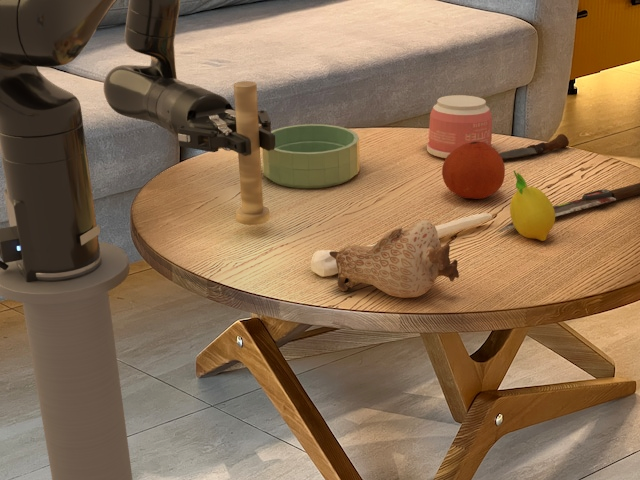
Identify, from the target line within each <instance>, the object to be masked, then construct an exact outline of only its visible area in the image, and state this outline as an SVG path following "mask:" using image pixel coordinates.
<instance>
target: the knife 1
mask: <svg viewBox="0 0 640 480" xmlns="http://www.w3.org/2000/svg"><path fill="white" fill-rule="evenodd" d="M569 144H570V141H569V139H568V137H567V136H566V135H565V134H564V133H559V134H558V135H557V136H556V137H555V138H553V139H552V140H550V141H548V142H540V143H537V144H531V145H528V146H526V147H520V148H514V149H510V150H506V151H503V152H498V153H499V154H500V156H501V157H502V160H505V159H506V160H507V159H513V158H522V157H526V156H535V155H540V154H544V153H546V152H552V151H554V150H556V149H557V150H558V149H560V148H563V149H564V148H567V147H568V146H569Z"/></svg>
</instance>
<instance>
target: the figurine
mask: <svg viewBox="0 0 640 480" xmlns="http://www.w3.org/2000/svg"><path fill="white" fill-rule="evenodd" d="M435 226H436V225H434V224H433V223H432V222H431V221H429V220H425V219H424V220H423V219H422V220H418V221H416V222H414V223H413V224H411V225H409V226H407V227H405V228H403V225H399V226H397V227H396V228H394V229H392V230H390V231H389V232H387V234H385V235H384V236H383V237H382V238H380V239H379V240H378V241H377V243H375V244H376V245H373V244H372V245H373V246H369V245H359V244H351V245H347V246H345V247H343V248H341V249H340V250H338V251H336V250H332V251H331V252H330V255H331V256H332V257H333V258H335V259H336V264H337V268H338V273H337V274H338V277H337V278H338V279H337V286H338V289H339V290H340V291H341V292H346V291H347V290H348V289H349V288H348V287H350V288H351V289H352V288H354V286H355V285H356V284H360V283H362V284H368V285H371V286H374V287H375V288H377V290H380V291H381V292H383V293H385V295H389V296H393V297H395V298H401V299H402V298H403V299H406V298H407V299H410V298H418V297H421V296H423V295H424V294H426V293H427V292H428V291H429V290H430V289H431V288H433V285H434V283H435V282H436V280H437V279H438V278H439V277H442V276H443V277H445V278H448V279H449V281H450V282H452V283H453V282H454V281H455V279H459V278H460V274H459V269H458V260H457V259H454V260H453V261H452V262H451V259H450V250H451V245H450V244H448V243H446V244H445V245H442V243H441V241H440V238H438V234H437V230H436V228H435ZM347 284H348V285H347Z"/></svg>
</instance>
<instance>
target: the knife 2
mask: <svg viewBox="0 0 640 480" xmlns="http://www.w3.org/2000/svg"><path fill="white" fill-rule="evenodd" d="M637 195H640V182H638V183H634V184H630V185H626V186H623V187H619V188H615V189H612V190H611V189H610V190H609V189H605V188H604V189H598V190H594V191H590V192H586V193H584V194H582V197H581V198H580V199H575V200H572V201H568V202H564V203H561V204H560V203H559V204H557V205H552V206H553V208H554V211H555V218H556V217H559V216H564V215H567V214H570V213H574V212H578V211H581V210H585V209H589V208H593V207H600V206H605V205H609V204H610V203H611V202H617V201H619V200H622V199H626V198H630V197H634V196H637ZM511 229H516V228H515V226H514V225H513V222H512V221H511V222H509V223H508V224H506V225H505V226H504V227H502V228H501V229H499V230H498V231H497V232H495V234H497V233H501V232H504V231H508V230H511Z"/></svg>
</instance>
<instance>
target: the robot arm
mask: <svg viewBox="0 0 640 480" xmlns="http://www.w3.org/2000/svg"><path fill="white" fill-rule="evenodd" d="M116 2H118V0H0V157H1V162H2V170H3V174H4V181H5V187H6V188H5V189H4V190H3V195H4V198H5V199H4V201H5V205H6V212H7V218H8V223H9V226H7V227H1V228H0V259H1V260H2V261H3V262H2V261H1V260H0V268H2V269H4V270H6V269H7V268H8V266H9V265H7V264H6V263H7V262H13V261H16V265H17V267H18V268H19V271H20V273H21V274H22V275H23V277H24V279H25V281H26V282H34V281H46V282H53V281H65V280H70V279H75V278H79V277H82V276H85V275H87V274H89V273H91V272H93V271H95V270H96V269H97V268H98V267H99V266H100V265H101V263H102V257H101V251H100V246H99V242H100V241H99V235H100V234H101V228H100V224H98V225H97V219H96V211H95V204H94V197H93V189H92V181H91V173H90V167H89V160H88V152H87V144H86V137H85V129H84V122H83V121H84V120H83V113H82V105H81V103H80V100H79V99H78V97H77V96H76V95H75V94H74V93H72V92H70V91H69V90H67V89H64V88H62V87H60V86H58V85H56V84H55V83H53V82H51V81H50V80H49V79H48V78H46V77H45V76H44V74H42V73H41V71H40V70H39V68H58V67H63V66H66V65H68V64H70V63H72V62H73V61H74V60H75V59H77V57H78V56H79V55H80V54H81V53H82V51H83V50H84V49H85V47H86V46H87V45H88V43H89V42H90V40H91V39H92V37H93V35H94V34H95V32H96V31H97V30H98V28H99V27H100V26H99V25H101V23H102V22H103V20H104V18H105V17H106V15H107V14H108V12H109V11H110V9H111V8H112V7H113V6H114V4H115V3H116ZM180 7H181V0H128V7H127V13H126V14H127V15H126V19H125V20H126V21H125V27H124V28H125V29H124V43H125V45H126V46H127V47H128V48H129V49H130V50H132V51H134V52H136V53H139V54H142V55H145V56H149V57H150V65H133V64H123V65H117V66H115V67H113V68H112V69H110V71H109V72H107V74H106V76H105V79H104V81H103V95H104V98H105V100H106V102H107V104H108V105H109V107H110V108H111V109H112V111H114V112H115V113H117V114H119V115H121V116H124V117H128V118H132V119H136V120H141V121H146V122H150V123H154V124H156V125H157V126H159V127H161V128H163V129H165V130H167V131H168V132H169V133H171V134H172V135H173V136H175V137H177V139H178V146H179V147H182V148H187V149H193V150H198V151H205V152H210V153H217V152H219V150H223V151H227V152H231V151H233V152H234V153H237V154H238V153H240V154H242V155H244V156H248V155H251V141H250V139H249V138H248V137H246V136H243V135H241V134H239V133H237V128H236V112H235V108H233V106H232V105H231V103H230V102H229V101H228V99H226V98H225V97H223V95H220V94H217V93H216V92H213V91H211V90H208V89H206V88H203V87H201V86H199V85H196V84H193V83H187V82H185V81H182V80H180V79H178V75H177V65H176V55H175V54H176V53H175V52H176V51H175V38H176V32H177V26H178V21H179V14H180ZM258 122H259V140H260V149H262V148H263V149H265V150H267V151H271V150H274V149H275V146H276V145H275V134H273V133H271V131H272V121H271V119H270V116H269V114H268V111H267V110H264V109H260V110H258Z"/></svg>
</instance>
